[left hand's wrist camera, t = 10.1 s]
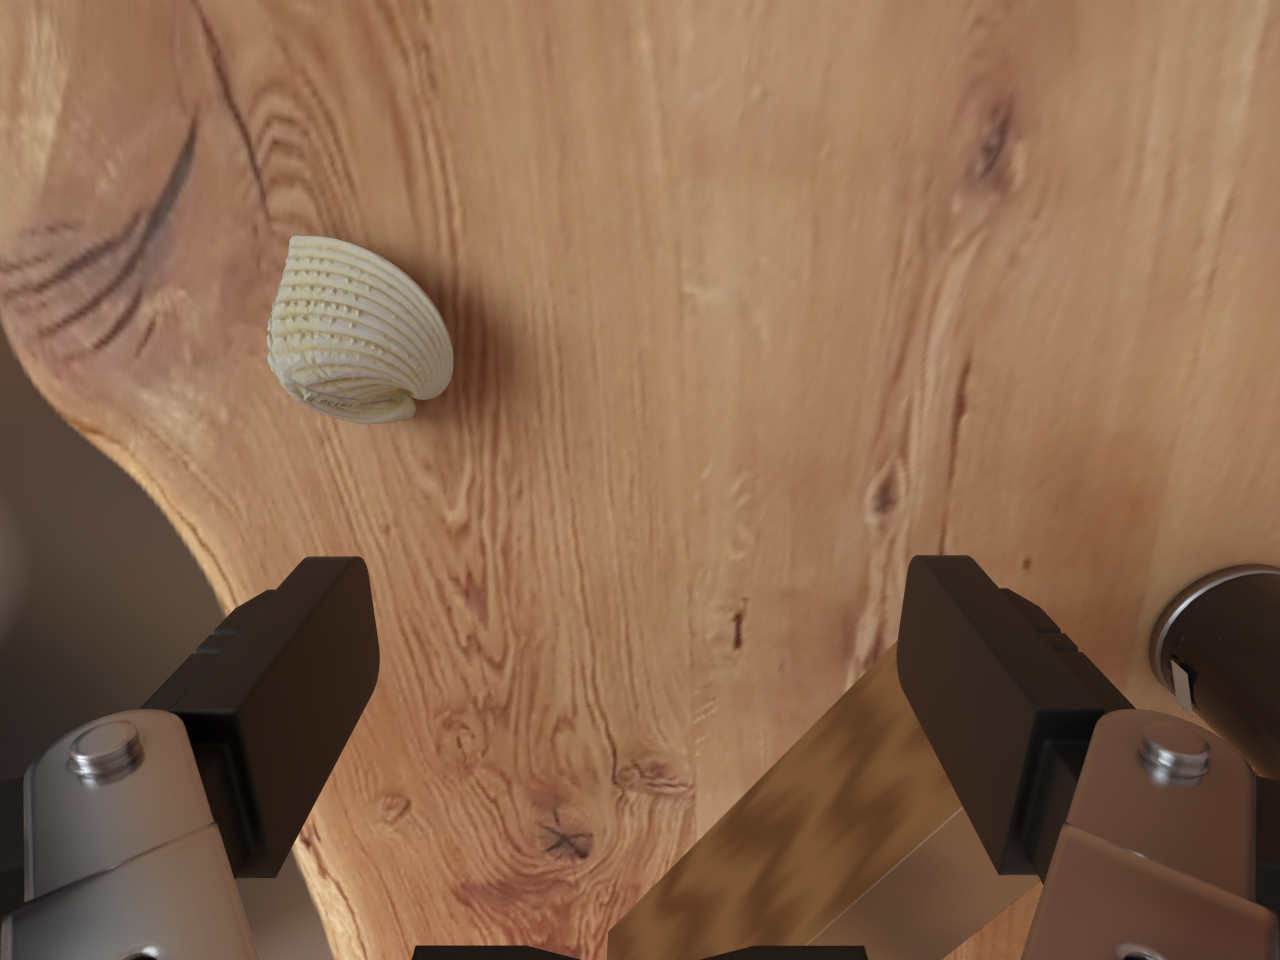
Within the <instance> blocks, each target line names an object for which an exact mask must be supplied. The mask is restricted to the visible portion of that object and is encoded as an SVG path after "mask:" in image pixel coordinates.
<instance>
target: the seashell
mask: <svg viewBox="0 0 1280 960" xmlns="http://www.w3.org/2000/svg"><path fill="white" fill-rule="evenodd" d="M288 253H289V254H288V256H287V259H286V267H285V269H284V271H283V279H282V281H281V283H280V285H279V287H278V295H277V297H276V299H275V301H274V303H273V311H272V313H271V314H272V315H271V317H270V319H269V321H268V323H269V326H268V328H267V330H268V331H269V335H268V337H267V344H268V347H269V350H270V352H269V355H268V363H269V365H270V366H271V370H272V371H273V373H274V374H275V375H276V376H277V377H278V378H279V380H280V383H281V385H282V386H283V387H284V388H285V389H286V390H287V392H288V393H289V394H290V395H291V396H292V397H293V398H294V399H295V400H297V401H298V402H300V403H301V404H303V405H305V406H307V407H309V408H311V409H313V410H315V411H317V412H319V413H321V414H323V415H327V416H330V417H333V418H336V419H339V420H344V421H349V422H353V423H357V424H384V423H391V422H396V421H403V420H408V419H410V418H411V417H413V416H414V414H415V412H416V405H415V402H414V400H413V398H415V399H419V400H429V399H432V398H436V397H437V396H439V395H440V394H441V393H442V392H443V391H444V390H445V389H446V388H447V386H448V384H449V382H450V380H451V377H452V373H453V348H452V343H451V339H450V336H449V332H448V330H447V328H446V325H445V323H444V321H443V319H442V317H441V315H440V313H439V311H438V310H437V308H436V307H435V305H434V304H433V302H432V301H431V300H430V298H429V297H428V296H427V295H426V293H425V292H424V291H423V290H422V289H421V288H420V287H419V285H418V284H417V283H416V282H415V281H414V280H413V279H412V278H410V277H409V276H408V275H407V274H406V273H405V272H403V271H402V270H401V269H400V268H398V267H397V266H395V265H394V264H392V263H391V262H389V261H388V260H387V259H385V258H383V257H381V256H380V255H378V254H376V253H374V252H371V251H369V250H367V249H365V248H363V247H360V246H357V245H355V244H352V243H350V242H346V241H341V240H338V239H335V238H327V237H319V236H294V235H293V236H292V238H291V239H290V245H289V251H288ZM412 397H413V398H412Z"/></svg>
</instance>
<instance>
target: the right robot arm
mask: <svg viewBox="0 0 1280 960" xmlns="http://www.w3.org/2000/svg"><path fill="white" fill-rule="evenodd" d="M1149 655H1150V662H1151V666H1152V669H1153V671H1154V673H1155V675H1156V677H1157V678H1158V680H1159V681H1160V682H1161V683H1162V684H1163V685H1164V686H1165V687H1166V688H1167V689H1168V690H1169V691H1170V692H1171V693H1172V694H1173V695H1174V696H1176V699H1177V703H1178V704H1179V705H1180V706H1181V707H1182V708H1183V709H1184V710H1185V711H1186V712H1187V713H1188V714H1189V715H1191V716H1192V717H1193V714H1192V710H1193V711H1194V712H1195V713H1196V714H1197V715H1198V716H1199V717H1200V718H1201V719H1202V720H1203V721H1204V722H1205V723H1206V724H1207V725H1208V726H1209V727H1210V728H1211V729H1212V730H1214V731H1215V732H1216V733H1217V734H1218V735H1219V736H1220V737H1221V738H1222V739H1223V740H1224V741H1226V742H1227V743H1229V744H1230V745H1231V746H1232V747H1234V748H1235V749H1236V750H1237V751H1238V752H1239V753H1240V754H1241V755H1242V756H1243V757H1244V758H1245V759H1246V760H1247V761H1248V763H1249V764H1250V765H1251V766H1252V767H1253V768H1254V769H1255V770H1256V771H1257V772H1258V773H1259V774H1260V775H1261V776H1262V777H1265V778H1269V779H1274V780H1279V781H1280V568H1276V567H1273V566H1268V565H1258V564H1249V565H1239V566H1234V567H1229V568H1225V569H1222V570H1219V571H1216V572H1214V573H1211V574H1209V575H1207V576H1205V577H1203V578H1201V579H1199V580H1197V581H1196V582H1194V583H1193V584H1191V585H1190V586H1188V587H1187V588H1185V589H1184V590H1183V591H1182V592H1181V593H1179V594H1178V595H1177V596H1176V597H1175V598H1174V599H1173V600H1172V601H1171V602H1170V604H1169V605H1168V606H1167V607H1166V608H1165V610H1164V611H1163V612H1162V614H1161V616H1160V617H1159V619H1158V621H1157V623H1156V625H1155V627H1154V630H1153V632H1152V636H1151V640H1150V646H1149Z"/></svg>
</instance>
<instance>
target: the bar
mask: <svg viewBox="0 0 1280 960" xmlns="http://www.w3.org/2000/svg"><path fill="white" fill-rule="evenodd" d="M897 642H898V640H897V641H896V643H895V644H894V645H893V646H892V647H891V648H890V649H889V650H888V651H887V652H886V653H885V654H884V655H883V656H882V657H881V658H880V659H879V660H878V661H877V662H876V663H875V664H874V665H873V666H872V667H871V668H870V669H869V670H868V671H867V672H866V673H865V674H864V675H863V676H862V677H861V678H860V679H859V680H858V681H857V682H856V683H855V684H854V685H853V686H852V687H851V688H850V689H849V690H848V691H847V692H846V693H845V694H844V695H843V696H842V697H841V698H840V699H839V700H838V701H837V702H836V703H835V704H834V705H833V706H832V707H831V708H830V709H829V710H828V711H827V712H826V713H825V714H824V715H823V716H822V717H821V718H820V719H819V720H818V721H817V722H816V723H815V724H814V725H813V726H812V727H811V728H810V729H809V730H808V731H807V732H806V733H805V734H804V735H803V736H802V737H801V738H800V739H799V740H798V741H797V742H796V743H795V744H794V745H793V746H792V747H791V748H790V749H789V750H788V751H787V752H786V753H785V754H784V755H783V756H782V757H781V758H780V759H779V760H778V761H777V762H776V763H775V764H774V765H773V766H772V767H771V768H770V769H769V770H768V771H767V772H766V774H765V775H764V776H763V777H762V778H761V779H760V780H759V781H758V782H757V783H756V784H755V785H754V786H753V787H752V788H751V789H750V790H749V791H748V792H747V793H746V794H745V795H744V796H743V797H742V798H741V799H740V800H739V801H738V802H737V803H736V804H735V805H734V806H733V807H732V808H731V809H730V810H729V811H728V812H727V813H726V814H725V815H724V816H723V817H722V818H721V819H720V820H719V821H718V822H717V823H716V824H715V825H714V826H713V827H712V828H711V829H710V830H709V831H708V832H707V833H706V834H705V835H704V836H703V837H702V838H701V839H700V840H699V841H698V842H697V843H696V844H695V845H694V846H693V847H692V848H691V849H690V850H689V851H688V852H687V853H686V854H685V855H684V856H683V857H682V858H681V859H680V860H679V861H678V862H677V863H676V864H675V865H674V866H673V867H672V868H671V869H670V870H669V871H668V872H667V873H666V874H665V875H664V876H663V877H662V878H661V879H660V880H659V881H658V882H657V883H656V884H655V885H654V886H653V887H652V888H651V889H650V890H649V891H648V892H647V893H646V894H645V895H644V896H643V897H642V898H641V899H640V900H639V901H638V902H637V903H636V905H635V906H634V907H633V908H632V909H631V910H630V911H629V912H628V913H627V914H626V915H625V916H624V917H623V918H622V919H621V920H620V921H619V922H618V923H617V924H616V925H615V926H614V927H613V928H612V929H611V930H610V931H609V932H608V948H607V960H701V959H704V958H708V957H712V956H716V955H720V954H724V953H728V952H731V951H735V950H739V949H743V948H747V947H751V946H864V947H865V950H866V954H867V957H868V960H942V959H943V958H945V957H946V956H947V955H948V954H950V953H951V952H952V951H953V950H955V949H956V948H957V947H958V946H960V945H961V944H962V943H963V942H965V941H966V940H967V939H968V938H970V937H971V936H972V935H973V934H974V933H976V932H977V931H978V930H979V929H981V928H982V927H983V926H984V925H986V924H987V923H988V922H989V921H991V920H992V919H993V918H994V917H996V916H997V915H998V914H999V913H1001V912H1002V911H1003V910H1004V909H1006V908H1007V907H1008V906H1009V905H1010V904H1012V903H1013V902H1014V901H1015V900H1017V899H1018V898H1019V897H1020V896H1022V895H1023V894H1024V893H1025V892H1027V891H1028V890H1029V889H1030V888H1032V887H1033V886H1034V885H1035V884H1037V883H1038V882H1039V881H1040V878H1039V876H1038V875H998V873H997V871H996V869H995V867H994V866H993V864H992V862H991V860H990V858H989V856H988V854H987V852H986V850H985V848H984V846H983V844H982V842H981V840H980V839H979V837H978V835H977V833H976V831H975V829H974V827H973V825H972V823H971V821H970V819H969V817H968V815H967V813H966V812H965V810H964V808H963V806H962V804H961V802H960V800H959V798H958V796H957V794H956V792H955V790H954V788H953V786H952V785H951V783H950V781H949V779H948V777H947V775H946V773H945V771H944V769H943V767H942V765H941V763H940V761H939V759H938V758H937V756H936V754H935V752H934V750H933V748H932V746H931V744H930V742H929V740H928V738H927V736H926V734H925V732H924V731H923V729H922V727H921V725H920V723H919V721H918V719H917V717H916V715H915V713H914V711H913V709H912V707H911V706H910V704H909V702H908V700H907V698H906V696H905V694H904V692H903V690H902V687H901V684H900V681H899V676H898V671H897V660H896V652H897Z"/></svg>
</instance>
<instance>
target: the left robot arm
mask: <svg viewBox="0 0 1280 960" xmlns="http://www.w3.org/2000/svg"><path fill="white" fill-rule="evenodd" d="M1060 630H1061V629H1060V628H1059V627H1058V626H1057V625H1056V624H1055V623H1054V622H1053V621H1052V620H1051V618H1050V617H1049V616H1048V615H1047V614H1046V613H1045V612H1044V611H1043V610H1042V609H1041V608H1040V607H1039V606H1037V605H1035V604H1033V603H1032V602H1030V601H1028V600H1027V599H1025V598H1023V597H1021V596H1020V595H1018V594H1016V593H1015V592H1013V591H1011V590H1009V589H1008V588H998V587H997V586H996V584H995V583H994V582H993V581H992V580H991V579H990V578H989V577H988V575H987V574H986V573H985V572H984V571H983V570H982V569H981V568H980V566H979V565H978V564H977V563H976V562H975V561H974V560H973V559H972V558H971V557H970V556H967V555H917V556H914V557H913V558H912V560H911V562H910V564H909V568H908V572H907V579H906V586H905V593H904V600H903V607H902V614H901V621H900V628H899V635H898V642H897V652H896V660H897V671H898V676H899V681H900V684H901V687H902V690H903V692H904V694H905V696H906V698H907V700H908V702H909V704H910V706H911V707H912V709H913V711H914V713H915V715H916V717H917V719H918V721H919V723H920V725H921V727H922V729H923V731H924V732H925V734H926V736H927V738H928V740H929V742H930V744H931V746H932V748H933V750H934V752H935V754H936V756H937V758H938V759H939V761H940V763H941V765H942V767H943V769H944V771H945V773H946V775H947V777H948V779H949V781H950V783H951V785H952V786H953V788H954V790H955V792H956V794H957V796H958V798H959V800H960V802H961V804H962V806H963V808H964V810H965V812H966V813H967V815H968V817H969V819H970V821H971V823H972V825H973V827H974V829H975V831H976V833H977V835H978V837H979V839H980V840H981V842H982V844H983V846H984V848H985V850H986V852H987V854H988V856H989V858H990V860H991V862H992V864H993V866H994V867H995V869H996V871H997V873H998V875H1038V876H1039V878H1040V880H1041V882H1042V883H1043V885H1044V886H1043V889H1042V892H1041V896H1040V899H1039V902H1038V905H1037V908H1036V912H1035V915H1034V918H1033V921H1032V925H1031V928H1030V931H1029V934H1028V937H1027V941H1026V944H1025V947H1024V950H1023V954H1022V957H1021V960H1280V781H1279V780H1274V779H1269V778H1265V777H1260V776H1255V773H1254V771H1253V769H1252V767H1251V765H1250V764H1249V763H1248V761H1247V760H1246V759H1245V758H1244V757H1243V756H1242V755H1241V754H1240V753H1239V752H1238V751H1237V750H1236V749H1235V748H1234V747H1232V746H1231V745H1230V744H1229V743H1227V742H1226V741H1224V740H1223V739H1221V738H1220V737H1218V736H1217V735H1215V734H1213V733H1212V732H1210V731H1208V730H1206V729H1204V728H1202V727H1200V726H1198V725H1196V724H1193V723H1191V722H1189V721H1186V720H1183V719H1181V718H1178V717H1175V716H1171V715H1168V714H1164V713H1159V712H1155V711H1149V710H1141V709H1136V708H1135V707H1134V706H1133V705H1132V704H1131V703H1130V702H1129V701H1128V700H1127V699H1126V698H1125V697H1124V696H1123V695H1122V694H1121V693H1120V691H1119V690H1118V689H1117V688H1116V687H1115V686H1114V685H1113V684H1112V683H1111V682H1110V681H1109V680H1108V679H1107V678H1106V677H1105V676H1104V675H1103V674H1102V672H1101V671H1100V670H1099V669H1098V668H1097V667H1096V666H1095V665H1094V664H1093V663H1092V662H1091V661H1090V660H1089V659H1088V658H1087V657H1086V656H1085V654H1084V653H1083V652H1078V647H1077V646H1076V645H1075V644H1074V643H1073V642H1072V641H1071V640H1070V639H1069V638H1068V636H1067V635H1066V634H1061V632H1060ZM379 663H380V651H379V643H378V636H377V629H376V622H375V615H374V608H373V601H372V595H371V588H370V581H369V574H368V569H367V566H366V563H365V561H364V560H363V559H362V558H361V557H306V558H305V559H303V560H302V561H301V562H300V564H299V565H298V566H297V567H296V568H295V569H294V570H293V571H292V573H291V574H290V575H289V576H288V577H287V578H286V579H285V580H284V581H283V583H282V584H281V585H280V586H279V587H278V588H277V589H276V590H266V591H265V592H263V593H261V594H260V595H258V596H256V597H254V598H253V599H251V600H249V601H247V602H246V603H244V604H242V605H241V606H239V607H237V608H235V609H234V610H233V611H232V612H231V614H230V615H229V616H228V617H227V618H226V619H225V620H224V621H223V622H222V623H221V624H220V625H219V626H218V627H217V628H216V629H215V630H214V635H210V636H209V637H208V638H207V639H206V640H205V641H204V642H203V643H202V644H201V645H200V646H199V647H198V648H197V652H196V654H191V655H190V657H189V658H188V659H187V660H186V661H185V662H184V663H183V664H182V665H181V666H180V667H179V668H178V669H177V670H176V671H175V672H174V673H173V674H172V675H171V676H170V677H169V679H168V680H167V681H166V682H165V683H164V684H163V685H162V686H161V687H160V688H159V689H158V690H157V691H156V692H155V693H154V694H153V695H152V696H151V698H150V699H149V700H148V701H147V702H146V703H145V704H144V705H143V706H142V707H141V708H140V709H139V710H131V711H125V712H121V713H116V714H112V715H109V716H105V717H102V718H99V719H97V720H94V721H91V722H89V723H87V724H84V725H82V726H80V727H78V728H76V729H74V730H72V731H70V732H68V733H67V734H65V735H63V736H62V737H60V738H59V739H57V740H56V741H54V742H53V743H51V744H50V745H49V746H48V747H46V748H45V749H44V750H43V751H42V752H41V753H40V754H39V755H38V756H37V757H36V758H35V759H34V760H33V762H32V763H31V764H30V766H29V767H28V769H27V771H26V773H25V776H24V777H21V778H16V779H12V780H6V781H2V782H0V960H259V957H258V954H257V950H256V947H255V944H254V941H253V938H252V934H251V931H250V928H249V925H248V921H247V918H246V915H245V912H244V909H243V905H242V902H241V899H240V896H239V892H238V889H237V886H236V883H235V879H236V878H276V876H277V874H278V872H279V871H280V869H281V867H282V865H283V863H284V861H285V859H286V857H287V855H288V853H289V851H290V850H291V848H292V846H293V844H294V842H295V840H296V838H297V836H298V834H299V832H300V831H301V829H302V827H303V825H304V823H305V821H306V819H307V817H308V815H309V813H310V812H311V810H312V808H313V806H314V804H315V802H316V800H317V798H318V796H319V794H320V792H321V791H322V789H323V787H324V785H325V783H326V781H327V779H328V777H329V775H330V773H331V772H332V770H333V768H334V766H335V764H336V762H337V760H338V758H339V756H340V754H341V752H342V751H343V749H344V747H345V745H346V743H347V741H348V739H349V737H350V735H351V733H352V732H353V730H354V728H355V726H356V724H357V722H358V720H359V718H360V716H361V714H362V713H363V711H364V709H365V707H366V705H367V703H368V701H369V699H370V697H371V695H372V693H373V691H374V689H375V686H376V682H377V678H378V673H379ZM412 960H579V959H576V958H572V957H568V956H564V955H560V954H556V953H552V952H549V951H545V950H541V949H537V948H533V947H529V946H416V947H415V950H414V954H413V957H412ZM701 960H868V957H867V954H866V950H865V947H864V946H751V947H747V948H743V949H739V950H735V951H731V952H728V953H724V954H720V955H716V956H712V957H708V958H704V959H701Z"/></svg>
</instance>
